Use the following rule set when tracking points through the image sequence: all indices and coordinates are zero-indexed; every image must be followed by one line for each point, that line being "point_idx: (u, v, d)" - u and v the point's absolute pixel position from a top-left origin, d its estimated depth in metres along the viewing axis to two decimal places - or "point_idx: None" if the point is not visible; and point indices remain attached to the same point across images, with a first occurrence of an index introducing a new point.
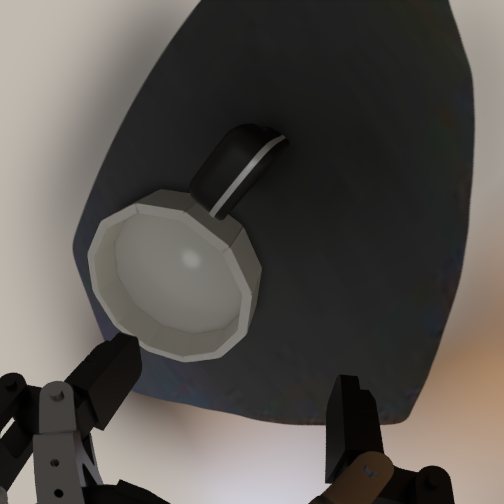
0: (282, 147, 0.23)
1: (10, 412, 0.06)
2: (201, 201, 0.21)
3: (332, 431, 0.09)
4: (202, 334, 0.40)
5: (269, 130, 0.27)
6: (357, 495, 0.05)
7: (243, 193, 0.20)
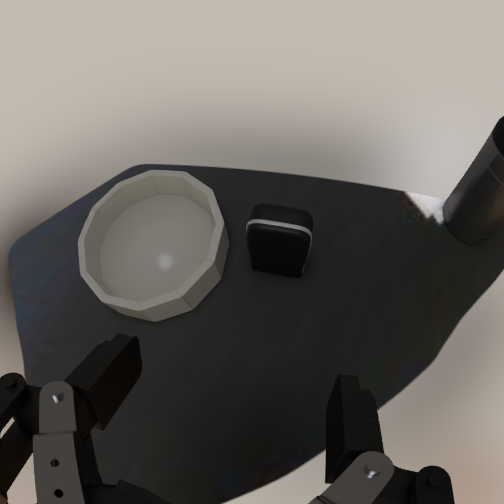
0: (307, 255, 0.34)
1: (10, 412, 0.06)
2: (256, 212, 0.32)
3: (332, 431, 0.09)
4: (106, 288, 0.39)
5: None
6: (357, 495, 0.05)
7: (277, 231, 0.30)
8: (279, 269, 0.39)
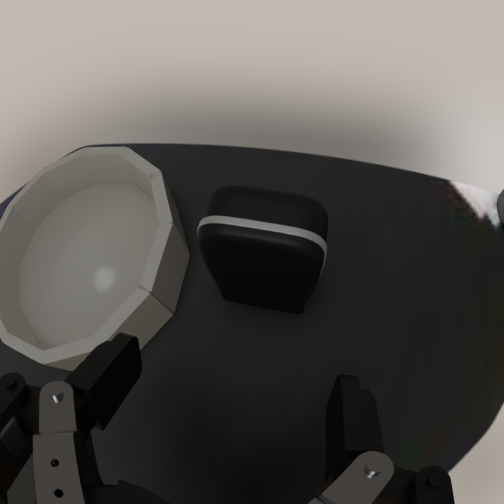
0: None
1: (10, 412, 0.06)
2: (215, 202, 0.16)
3: (332, 431, 0.09)
4: (22, 318, 0.23)
5: None
6: (357, 495, 0.05)
7: (255, 241, 0.14)
8: (266, 302, 0.23)
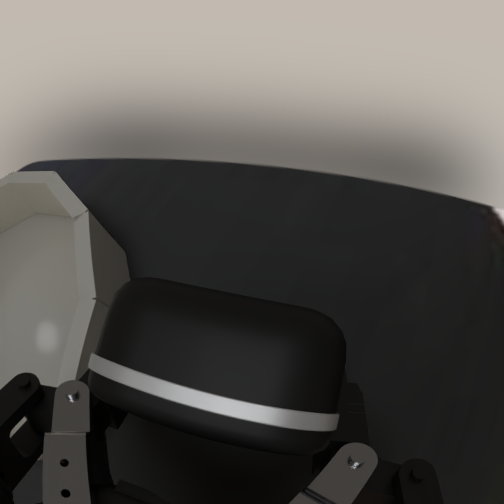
0: None
1: (22, 412, 0.06)
2: (111, 322, 0.07)
3: None
4: None
5: None
6: (343, 486, 0.06)
7: (184, 429, 0.06)
8: None
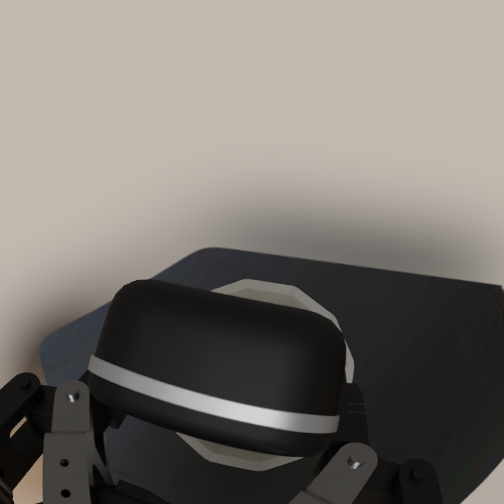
0: None
1: (22, 412, 0.06)
2: (111, 324, 0.07)
3: None
4: None
5: None
6: (343, 486, 0.06)
7: (184, 432, 0.06)
8: None
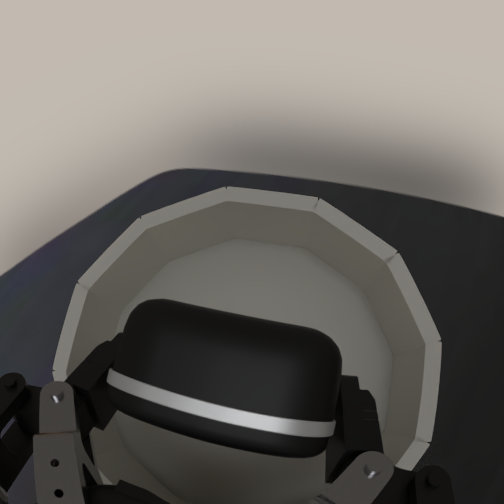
0: None
1: (10, 412, 0.06)
2: (128, 341, 0.08)
3: None
4: (139, 465, 0.15)
5: None
6: (357, 495, 0.05)
7: (198, 437, 0.06)
8: None
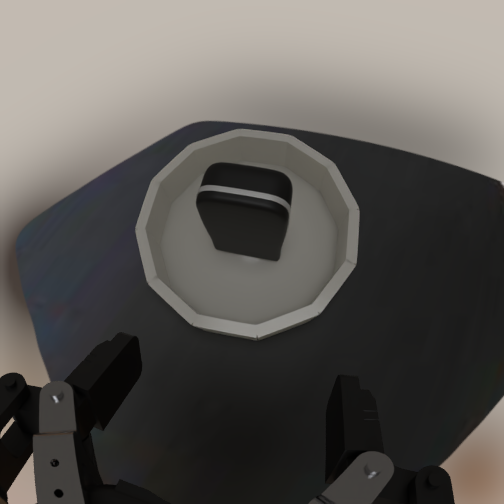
0: (284, 235, 0.24)
1: (10, 412, 0.06)
2: (209, 174, 0.21)
3: (332, 431, 0.09)
4: (181, 297, 0.29)
5: None
6: (357, 495, 0.05)
7: (237, 203, 0.20)
8: (249, 251, 0.29)
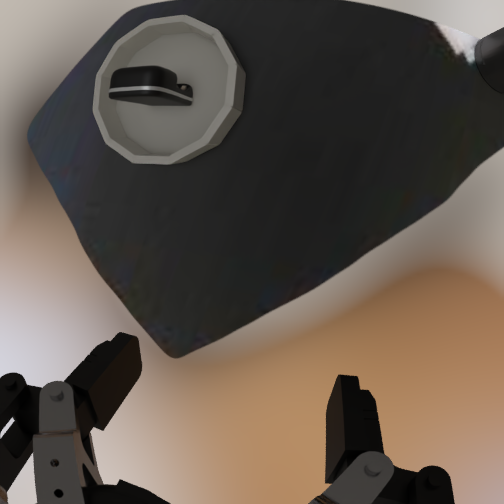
0: (172, 99, 0.31)
1: (10, 412, 0.06)
2: (111, 80, 0.27)
3: (332, 431, 0.09)
4: (133, 142, 0.40)
5: (188, 89, 0.35)
6: (358, 495, 0.05)
7: (127, 96, 0.28)
8: (166, 104, 0.36)
